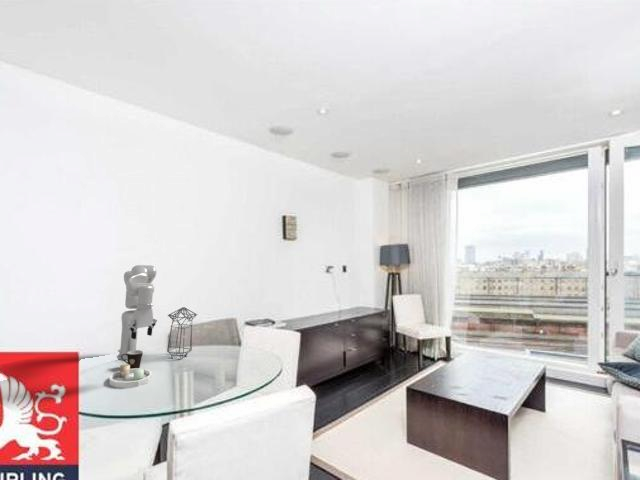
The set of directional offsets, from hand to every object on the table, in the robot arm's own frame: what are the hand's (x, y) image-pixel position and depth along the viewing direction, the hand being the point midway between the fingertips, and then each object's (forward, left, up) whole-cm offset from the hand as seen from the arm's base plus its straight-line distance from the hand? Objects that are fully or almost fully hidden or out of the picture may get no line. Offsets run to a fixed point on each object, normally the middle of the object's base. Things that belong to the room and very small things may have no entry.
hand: (141, 336), depth 193 cm
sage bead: (0, 0, -25) cm, 25 cm away
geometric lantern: (-18, +44, -26) cm, 55 cm away
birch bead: (-12, 0, -25) cm, 28 cm away
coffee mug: (-23, +12, -26) cm, 37 cm away
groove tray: (-6, 0, -26) cm, 27 cm away
